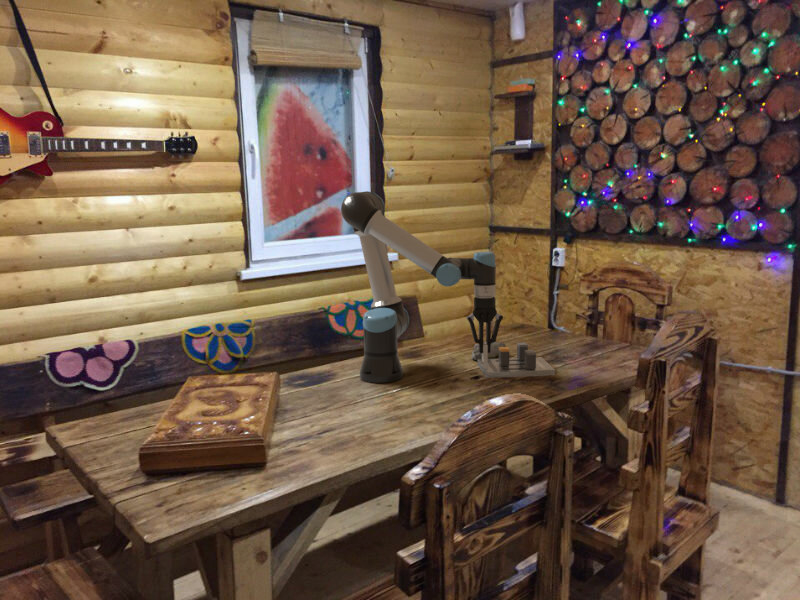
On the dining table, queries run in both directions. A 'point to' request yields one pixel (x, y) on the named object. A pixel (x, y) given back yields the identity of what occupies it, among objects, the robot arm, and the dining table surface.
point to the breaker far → (521, 350)
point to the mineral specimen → (493, 353)
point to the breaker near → (530, 359)
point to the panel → (515, 368)
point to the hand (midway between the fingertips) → (484, 361)
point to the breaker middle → (503, 356)
